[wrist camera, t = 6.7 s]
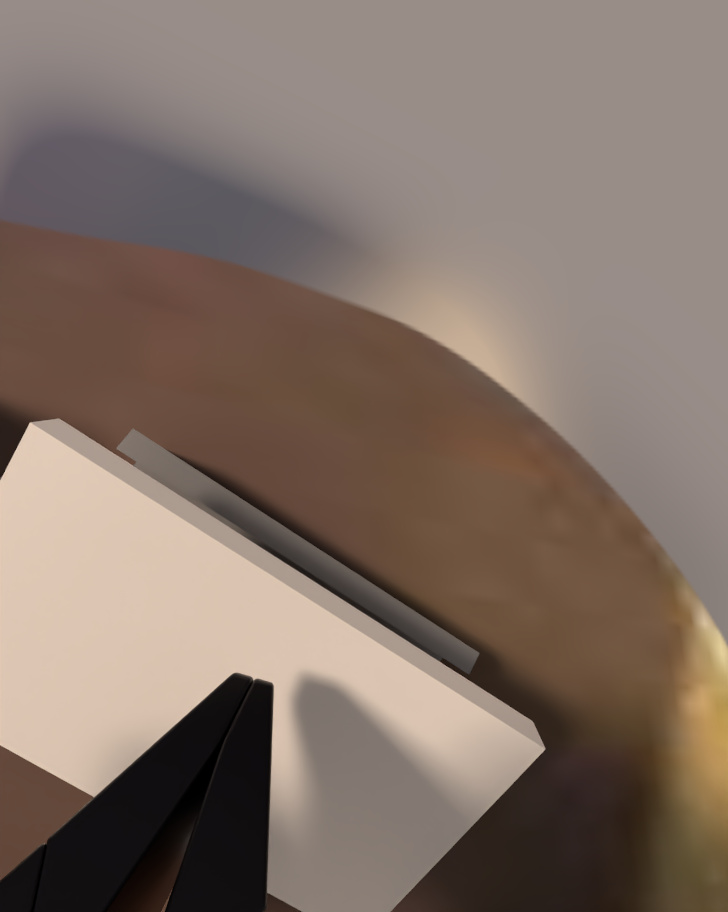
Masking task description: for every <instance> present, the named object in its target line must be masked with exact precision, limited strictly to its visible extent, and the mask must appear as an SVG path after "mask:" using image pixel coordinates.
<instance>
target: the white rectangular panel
mask: <svg viewBox="0 0 728 912" xmlns="http://www.w3.org/2000/svg"><path fill="white" fill-rule="evenodd" d="M236 672H237V673H241V674H245V675H248V676H251V677H252V678H253V681H254V680H255V679H262V680H265V681H268V682H272V683H273V685H274V702H273V731H272V761H271V791H270V821H269V850H268V880H267V893H269V894H271V895H273V896H274V897H276V898H278V899H280V900H282V901H284V902H285V903H287V904H289V905H291V906H293V907H294V908H296V909H298V910H300V911H302V912H391V911H392V910H393V909H394V907H395V906H396V905H397V904H398V903H399V902H400V901H401V900H402V899H403V898H404V897H405V896H406V895H407V894H408V893H409V892H410V891H411V890H412V889H413V888H414V887H415V885H416V884H417V883H418V882H419V881H420V880H421V879H422V878H423V877H424V876H425V875H426V874H427V873H428V872H429V871H430V870H431V869H432V868H433V867H434V866H435V865H436V863H437V862H438V861H439V860H440V859H441V858H442V857H443V856H444V855H445V854H446V853H447V852H448V851H449V850H450V849H451V848H452V847H453V846H454V845H455V844H456V843H457V841H458V840H459V839H460V838H461V837H462V836H463V835H464V834H465V833H466V832H467V831H468V830H469V829H470V828H471V827H472V826H473V825H474V824H475V823H476V822H477V821H478V819H479V818H480V817H481V816H482V815H483V814H484V813H485V812H486V811H487V810H488V809H489V808H490V807H491V806H492V805H493V804H494V803H495V802H496V801H497V800H498V799H499V797H500V796H501V795H502V794H503V793H504V792H505V791H506V790H507V789H508V788H509V787H510V786H511V785H512V784H513V783H514V782H515V781H516V780H517V779H518V778H519V777H520V775H521V774H522V773H523V772H524V771H525V770H526V769H527V768H528V767H529V766H530V765H531V764H532V763H533V762H534V761H535V760H536V759H537V758H538V757H539V756H540V755H541V753H542V752H543V751H544V750H545V747H544V744H543V742H542V740H541V738H540V736H539V734H538V731H537V729H536V727H535V725H534V723H533V721H532V720H530V719H528V718H527V717H525V716H524V715H522V714H521V713H519V712H517V711H516V710H514V709H513V708H511V707H510V706H508V705H507V704H505V703H503V702H502V701H500V700H499V699H497V698H496V697H494V696H492V695H491V694H489V693H488V692H486V691H485V690H483V689H481V688H480V687H478V686H477V685H475V684H474V683H472V682H471V681H469V680H467V679H466V678H464V677H463V676H461V675H460V674H458V673H456V672H455V671H453V670H452V669H450V668H449V667H447V666H445V665H444V664H442V663H441V662H439V661H438V660H436V659H435V658H433V657H431V656H430V655H428V654H427V653H425V652H424V651H422V650H420V649H419V648H417V647H416V646H414V645H413V644H411V643H409V642H408V641H406V640H405V639H403V638H402V637H400V636H399V635H397V634H395V633H394V632H392V631H391V630H389V629H388V628H386V627H384V626H383V625H381V624H380V623H378V622H377V621H375V620H374V619H372V618H370V617H369V616H367V615H366V614H364V613H363V612H361V611H359V610H358V609H356V608H355V607H353V606H352V605H350V604H348V603H347V602H345V601H344V600H342V599H341V598H339V597H338V596H336V595H334V594H333V593H331V592H330V591H328V590H327V589H325V588H323V587H322V586H320V585H319V584H317V583H316V582H314V581H312V580H311V579H309V578H308V577H306V576H305V575H303V574H302V573H300V572H298V571H297V570H295V569H294V568H292V567H291V566H289V565H287V564H286V563H284V562H283V561H281V560H280V559H278V558H277V557H275V556H273V555H272V554H270V553H269V552H267V551H266V550H264V549H262V548H261V547H259V546H258V545H256V544H255V543H253V542H251V541H250V540H248V539H247V538H245V537H244V536H242V535H241V534H239V533H237V532H236V531H234V530H233V529H231V528H230V527H228V526H226V525H225V524H223V523H222V522H220V521H219V520H217V519H215V518H214V517H212V516H211V515H209V514H208V513H206V512H205V511H203V510H201V509H200V508H198V507H197V506H195V505H194V504H192V503H190V502H189V501H187V500H186V499H184V498H183V497H181V496H180V495H178V494H176V493H175V492H173V491H172V490H170V489H169V488H167V487H165V486H164V485H162V484H161V483H159V482H158V481H156V480H154V479H153V478H151V477H150V476H148V475H147V474H145V473H144V472H142V471H140V470H139V469H137V468H136V467H134V466H133V465H131V464H129V463H128V462H126V461H125V460H123V459H122V458H120V457H118V456H117V455H115V454H114V453H112V452H111V451H109V450H108V449H106V448H104V447H103V446H101V445H100V444H98V443H97V442H95V441H93V440H92V439H90V438H89V437H87V436H86V435H84V434H83V433H81V432H79V431H78V430H76V429H75V428H73V427H72V426H70V425H68V424H67V423H65V422H64V421H62V420H61V419H52V420H45V421H37V422H30V423H29V425H28V427H27V429H26V431H25V433H24V435H23V437H22V439H21V441H20V443H19V445H18V447H17V449H16V451H15V453H14V455H13V457H12V459H11V461H10V463H9V464H8V466H7V468H6V470H5V472H4V474H3V476H2V478H1V480H0V745H1V746H3V747H4V748H6V749H8V750H10V751H12V752H13V753H15V754H17V755H19V756H21V757H23V758H24V759H26V760H28V761H30V762H32V763H33V764H35V765H37V766H39V767H41V768H42V769H44V770H46V771H48V772H50V773H52V774H53V775H55V776H57V777H59V778H61V779H62V780H64V781H66V782H68V783H70V784H71V785H73V786H75V787H77V788H79V789H81V790H82V791H84V792H86V793H88V794H90V795H91V796H93V797H95V796H96V795H97V794H98V793H99V792H101V791H102V790H103V789H104V788H105V787H106V786H107V785H108V784H109V783H111V782H112V781H113V780H114V779H115V778H116V777H117V776H118V775H120V774H121V773H122V772H123V771H124V770H125V769H126V768H127V767H128V766H130V765H131V764H132V763H133V762H134V761H135V760H136V759H137V758H139V757H140V756H141V755H142V754H143V753H144V752H145V751H146V750H147V749H149V748H150V747H151V746H152V745H153V744H154V743H155V742H156V741H158V740H159V739H160V738H161V737H162V736H163V735H164V734H165V733H166V732H168V731H169V730H170V729H171V728H172V727H173V726H174V725H175V724H177V723H178V722H179V721H180V720H181V719H182V718H183V717H184V716H185V715H187V714H188V713H189V712H190V711H191V710H192V709H193V708H194V707H196V706H197V705H198V704H199V703H200V702H201V701H202V700H203V699H204V698H206V697H207V696H208V695H209V694H210V693H211V692H212V691H213V690H215V689H216V688H217V687H218V686H219V685H220V684H221V683H222V682H223V681H225V680H226V679H227V678H228V677H229V676H230V675H232V674H233V673H236Z"/></svg>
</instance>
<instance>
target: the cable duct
mask: <svg viewBox="0 0 728 912" xmlns="http://www.w3.org/2000/svg"><path fill="white" fill-rule="evenodd" d="M116 449H118V450H119V451H121V452H122V453H124V454H125V455H127V456H129V457H130V458H132V459H133V460H135V461H136V463H135V464H134V467H136V468H137V469H139V470H140V471H142V472H144V473H145V474H147V475H148V476H150V477H151V478H153V479H154V480H156V481H158V482H159V483H161V484H162V485H164V486H165V487H167V488H169V489H170V490H172V491H173V492H175V493H176V494H178V495H180V496H181V497H183V498H184V499H186V500H187V501H189V502H190V503H192V504H194V505H195V506H197V507H198V508H200V509H201V510H203V511H205V512H206V513H208V514H209V515H211V516H212V517H214V518H215V519H217V520H219V521H220V522H222V523H223V524H225V525H226V526H228V527H230V528H231V529H233V530H234V531H236V532H237V533H239V534H241V535H242V536H244V537H245V538H247V539H248V540H250V541H251V542H253V543H255V544H256V545H258V546H259V547H261V548H262V549H264V550H266V551H267V552H269V553H270V554H272V555H273V556H275V557H277V558H278V559H280V560H281V561H283V562H284V563H286V564H287V565H289V566H291V567H292V568H294V569H295V570H297V571H298V572H300V573H302V574H303V575H305V576H306V577H308V578H309V579H311V580H312V581H314V582H316V583H317V584H319V585H320V586H322V587H323V588H325V589H327V590H328V591H330V592H331V593H333V594H334V595H336V596H338V597H339V598H341V599H342V600H344V601H345V602H347V603H348V604H350V605H352V606H353V607H355V608H356V609H358V610H359V611H361V612H363V613H364V614H366V615H367V616H369V617H370V618H372V619H374V620H375V621H377V622H378V623H380V624H381V625H383V626H384V627H386V628H388V629H389V630H391V631H392V632H394V633H395V634H397V635H399V636H400V637H402V638H403V639H405V640H406V641H408V642H409V643H411V644H413V645H414V646H416V647H417V648H419V649H420V650H422V651H424V652H425V653H427V654H428V655H430V656H431V657H433V658H435V659H436V660H438V661H439V662H440V661H441V659H442V658H444V659H445V660H447V661H449V662H450V663H452V664H453V665H455V666H456V667H458V668H459V669H461V670H463V671H464V672H466V673H467V674H470V672H471V670H472V668H473V666H474V664H475V662H476V659H477V657H478V655H479V652H477V651H475V650H474V649H472V648H471V647H469V646H468V645H466V644H465V643H463V642H462V641H460V640H458V639H457V638H455V637H454V636H452V635H451V634H449V633H448V632H446V631H445V630H443V629H442V628H440V627H438V626H437V625H435V624H434V623H432V622H431V621H429V620H428V619H426V618H425V617H423V616H421V615H420V614H418V613H417V612H415V611H414V610H412V609H411V608H409V607H408V606H406V605H404V604H403V603H401V602H400V601H398V600H397V599H395V598H394V597H392V596H391V595H389V594H388V593H386V592H384V591H383V590H381V589H380V588H378V587H377V586H375V585H374V584H372V583H371V582H369V581H367V580H366V579H364V578H363V577H361V576H360V575H358V574H357V573H355V572H354V571H352V570H351V569H349V568H347V567H346V566H344V565H343V564H341V563H340V562H338V561H337V560H335V559H334V558H332V557H330V556H329V555H327V554H326V553H324V552H323V551H321V550H320V549H318V548H317V547H315V546H313V545H312V544H310V543H309V542H307V541H306V540H304V539H303V538H301V537H300V536H298V535H297V534H295V533H293V532H292V531H290V530H289V529H287V528H286V527H284V526H283V525H281V524H280V523H278V522H276V521H275V520H273V519H272V518H270V517H269V516H267V515H266V514H264V513H263V512H261V511H260V510H258V509H256V508H255V507H253V506H252V505H250V504H249V503H247V502H246V501H244V500H243V499H241V498H239V497H238V496H236V495H235V494H233V493H232V492H230V491H229V490H227V489H226V488H224V487H222V486H221V485H219V484H218V483H216V482H215V481H213V480H212V479H210V478H209V477H207V476H206V475H204V474H202V473H201V472H199V471H198V470H196V469H195V468H193V467H192V466H190V465H189V464H187V463H185V462H184V461H182V460H181V459H179V458H178V457H176V456H175V455H173V454H172V453H170V452H169V451H167V450H165V449H164V448H162V447H161V446H159V445H158V444H156V443H155V442H153V441H152V440H150V439H148V438H147V437H145V436H144V435H142V434H141V433H139V432H138V431H136V430H135V429H132V430H131V431H130V433H129V434H128V435H127V436H126V437H125V438H124V440H123V441H122V442H121V443H120V444H119V445H118V447H117V448H116Z"/></svg>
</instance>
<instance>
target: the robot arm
mask: <svg viewBox="0 0 728 912" xmlns="http://www.w3.org/2000/svg"><path fill="white" fill-rule="evenodd" d="M273 702H274V685H273V683H272V682H268V681H265V680H262V679H255V680H254V681H253V678H252V677H251V676H248V675H245V674H241V673H237V672H236V673H233V674H232V675H230V676H229V677H228V678H227V679H226V680H225V681H223V682H222V683H221V684H220V685H219V686H218V687H217V688H216V689H215V690H213V691H212V692H211V693H210V694H209V695H208V696H207V697H206V698H204V699H203V700H202V701H201V702H200V703H199V704H198V705H197V706H196V707H194V708H193V709H192V710H191V711H190V712H189V713H188V714H187V715H185V716H184V717H183V718H182V719H181V720H180V721H179V722H178V723H177V724H175V725H174V726H173V727H172V728H171V729H170V730H169V731H168V732H166V733H165V734H164V735H163V736H162V737H161V738H160V739H159V740H158V741H156V742H155V743H154V744H153V745H152V746H151V747H150V748H149V749H147V750H146V751H145V752H144V753H143V754H142V755H141V756H140V757H139V758H137V759H136V760H135V761H134V762H133V763H132V764H131V765H130V766H128V767H127V768H126V769H125V770H124V771H123V772H122V773H121V774H120V775H118V776H117V777H116V778H115V779H114V780H113V781H112V782H111V783H109V784H108V785H107V786H106V787H105V788H104V789H103V790H102V791H101V792H99V793H98V794H97V795H96V796H95V797H94V798H93V799H92V800H90V801H89V802H88V803H87V804H86V805H85V806H84V807H83V808H82V809H80V810H79V811H78V812H77V813H76V814H75V815H74V816H73V817H71V818H70V819H69V820H68V821H67V822H66V823H65V824H64V825H63V826H61V827H60V828H59V829H58V830H57V831H56V832H55V833H54V834H53V835H51V836H50V837H49V838H48V840H47V844H45V843H43V844H41V845H40V846H39V847H38V848H37V849H35V850H34V851H33V852H32V853H31V854H30V855H29V856H28V857H26V858H25V859H24V860H23V861H22V862H21V863H20V864H19V865H18V866H16V867H15V868H14V869H13V870H12V871H11V872H10V873H9V874H7V875H6V876H5V877H4V878H3V879H2V880H0V912H161V910H162V908H163V906H164V904H165V902H166V900H167V898H168V896H169V894H170V892H171V890H172V892H171V895H170V898H169V901H168V904H167V907H166V910H165V912H265V911H266V907H267V880H268V850H269V821H270V791H271V761H272V731H273ZM172 888H173V889H172Z"/></svg>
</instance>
